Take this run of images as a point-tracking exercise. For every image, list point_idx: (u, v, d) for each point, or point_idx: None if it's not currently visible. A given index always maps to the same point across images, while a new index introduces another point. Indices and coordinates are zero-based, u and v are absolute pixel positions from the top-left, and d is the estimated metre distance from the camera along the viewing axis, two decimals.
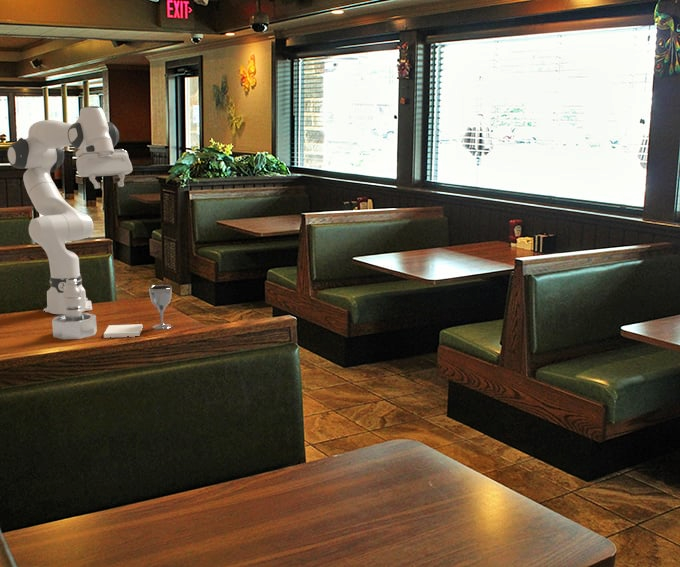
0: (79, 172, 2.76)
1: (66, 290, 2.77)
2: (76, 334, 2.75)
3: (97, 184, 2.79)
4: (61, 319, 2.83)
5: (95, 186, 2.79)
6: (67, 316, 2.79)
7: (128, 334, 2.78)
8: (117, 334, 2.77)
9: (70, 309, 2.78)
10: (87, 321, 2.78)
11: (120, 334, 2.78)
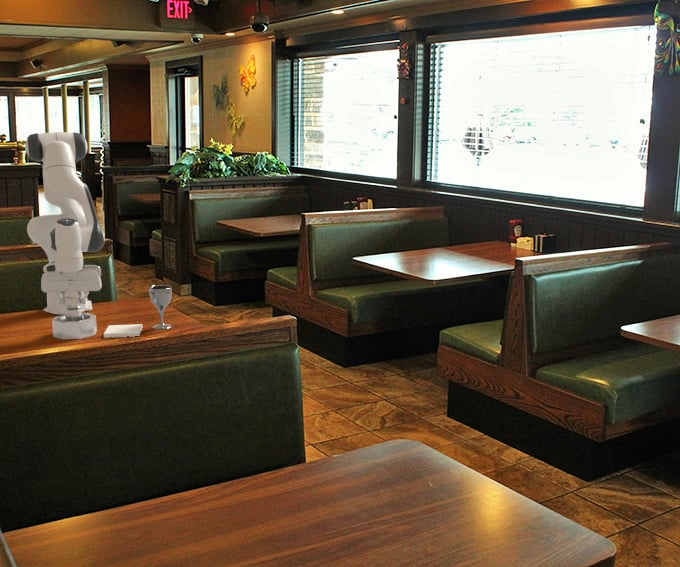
0: None
1: (66, 290, 2.77)
2: (76, 334, 2.75)
3: (60, 301, 2.79)
4: (61, 319, 2.83)
5: None
6: (67, 316, 2.79)
7: (128, 334, 2.78)
8: (117, 334, 2.77)
9: (70, 309, 2.78)
10: (87, 321, 2.78)
11: (120, 334, 2.78)
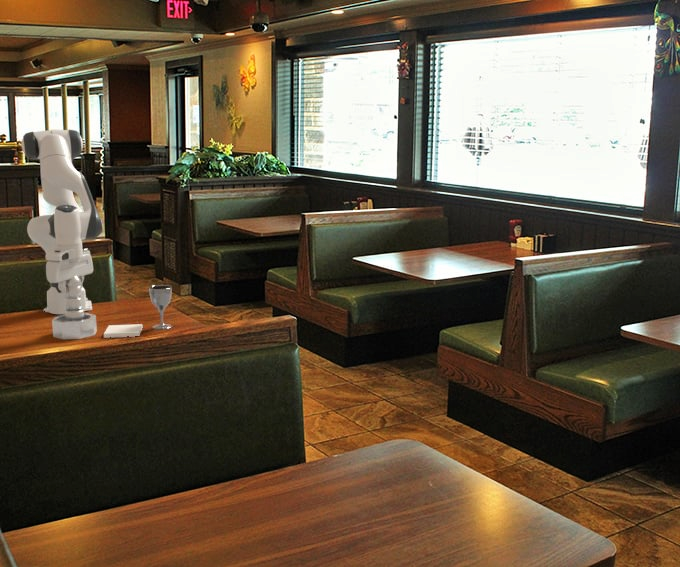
0: (49, 278, 2.69)
1: (72, 279, 2.77)
2: (76, 334, 2.75)
3: (66, 290, 2.75)
4: (61, 319, 2.83)
5: (63, 291, 2.75)
6: (74, 305, 2.78)
7: (128, 334, 2.78)
8: (117, 334, 2.77)
9: (77, 297, 2.79)
10: (87, 321, 2.78)
11: (120, 334, 2.78)
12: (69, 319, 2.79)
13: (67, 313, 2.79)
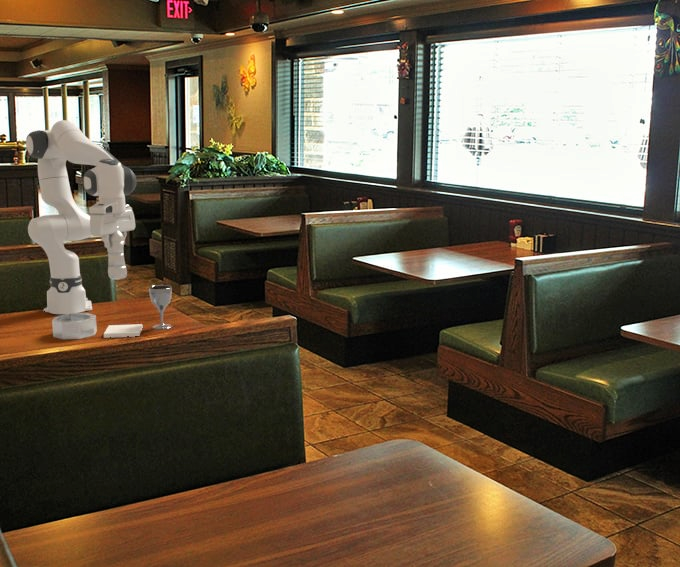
0: (93, 232, 2.67)
1: (116, 234, 2.74)
2: (76, 334, 2.75)
3: (109, 244, 2.73)
4: (61, 319, 2.83)
5: (106, 245, 2.73)
6: (117, 260, 2.76)
7: (128, 334, 2.78)
8: (117, 334, 2.77)
9: (120, 253, 2.76)
10: (87, 321, 2.78)
11: (120, 334, 2.78)
12: (112, 275, 2.76)
13: (110, 269, 2.76)
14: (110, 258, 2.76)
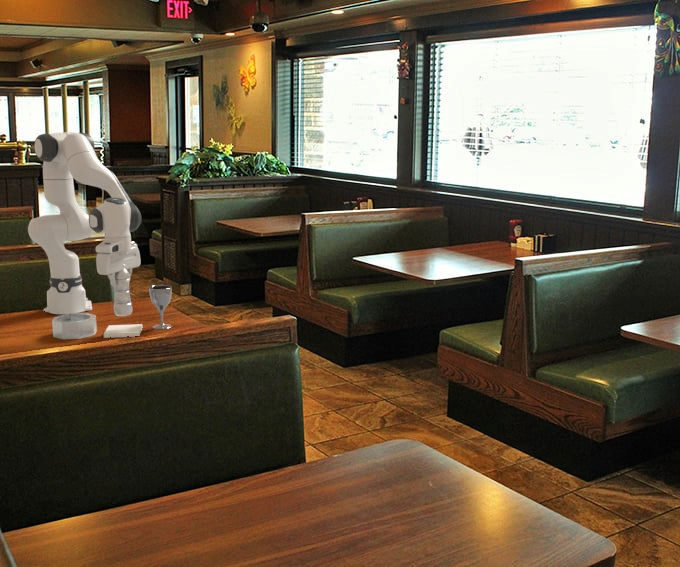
0: (100, 270, 2.70)
1: (122, 271, 2.77)
2: (76, 334, 2.75)
3: (115, 282, 2.76)
4: (61, 319, 2.83)
5: (112, 283, 2.76)
6: (123, 298, 2.79)
7: (128, 334, 2.78)
8: (117, 334, 2.77)
9: (126, 290, 2.79)
10: (87, 321, 2.78)
11: (120, 334, 2.78)
12: (118, 312, 2.79)
13: (116, 306, 2.79)
14: (116, 295, 2.79)
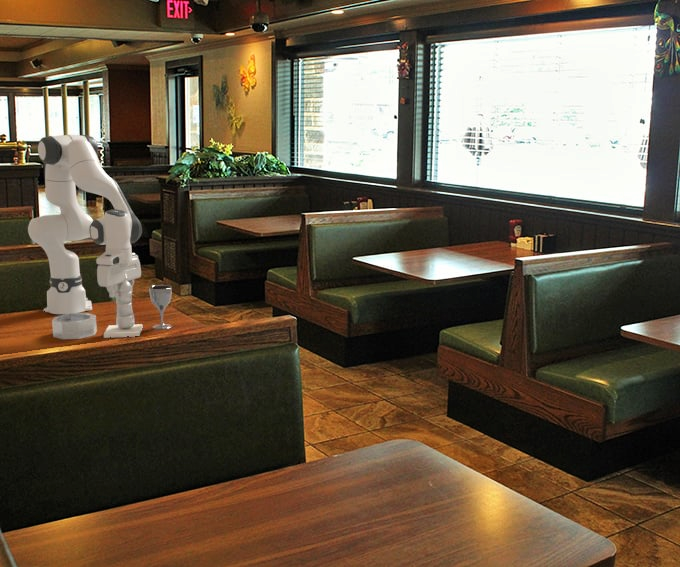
0: (100, 282, 2.71)
1: (124, 284, 2.79)
2: (76, 334, 2.75)
3: (114, 294, 2.76)
4: (61, 319, 2.83)
5: (111, 295, 2.76)
6: (125, 310, 2.81)
7: (128, 334, 2.78)
8: (117, 334, 2.77)
9: (128, 303, 2.81)
10: (87, 321, 2.78)
11: (120, 334, 2.78)
12: (120, 324, 2.81)
13: (118, 318, 2.81)
14: (118, 308, 2.81)
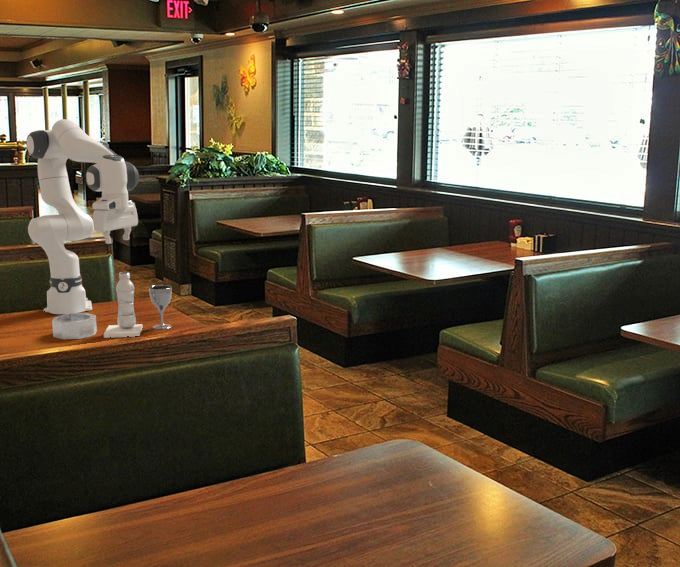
0: (96, 227, 2.67)
1: (126, 284, 2.80)
2: (76, 334, 2.75)
3: (110, 240, 2.72)
4: (61, 319, 2.83)
5: (107, 242, 2.72)
6: (127, 310, 2.81)
7: (128, 334, 2.78)
8: (117, 334, 2.77)
9: (130, 302, 2.82)
10: (87, 321, 2.78)
11: (120, 334, 2.78)
12: (121, 323, 2.82)
13: (119, 317, 2.82)
14: (120, 307, 2.82)
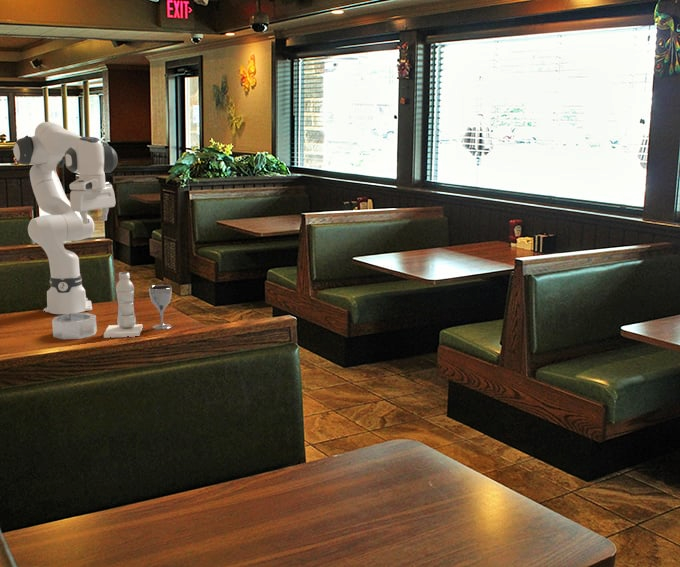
0: (73, 207, 2.73)
1: (126, 284, 2.80)
2: (76, 334, 2.75)
3: (87, 220, 2.78)
4: (61, 319, 2.83)
5: (84, 222, 2.79)
6: (127, 310, 2.81)
7: (128, 334, 2.78)
8: (117, 334, 2.77)
9: (130, 302, 2.82)
10: (87, 321, 2.78)
11: (120, 334, 2.78)
12: (121, 323, 2.82)
13: (119, 317, 2.82)
14: (120, 307, 2.81)
